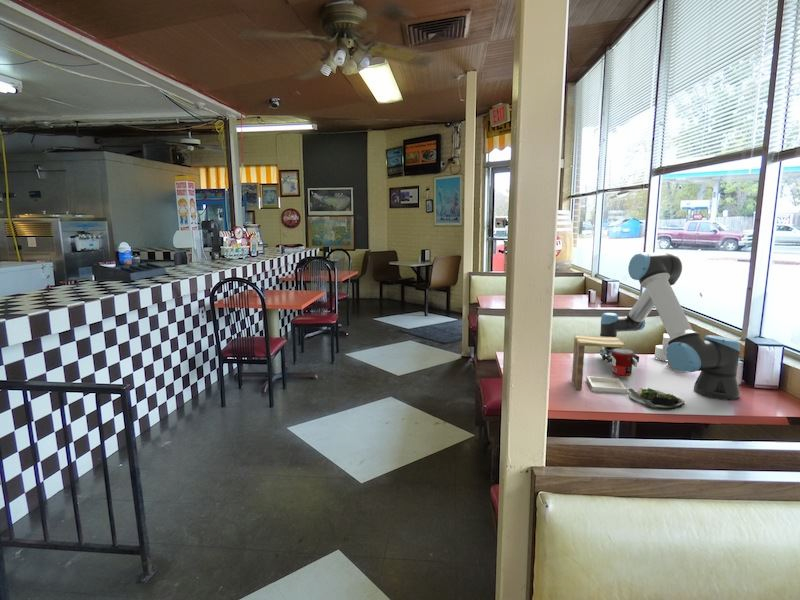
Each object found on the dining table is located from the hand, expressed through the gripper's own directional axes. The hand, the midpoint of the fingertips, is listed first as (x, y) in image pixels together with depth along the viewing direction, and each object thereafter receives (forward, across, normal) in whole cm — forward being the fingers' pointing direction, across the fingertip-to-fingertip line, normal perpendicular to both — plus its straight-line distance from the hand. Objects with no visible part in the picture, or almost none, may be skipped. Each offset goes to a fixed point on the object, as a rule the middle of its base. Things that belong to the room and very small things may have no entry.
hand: (625, 363), depth 195 cm
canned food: (-5, 0, -7) cm, 8 cm away
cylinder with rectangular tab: (-39, -29, -8) cm, 49 cm away
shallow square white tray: (+9, +10, -8) cm, 15 cm away
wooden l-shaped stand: (+9, +13, -8) cm, 18 cm away
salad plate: (+22, -6, -9) cm, 24 cm away
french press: (-23, -28, -8) cm, 38 cm away
